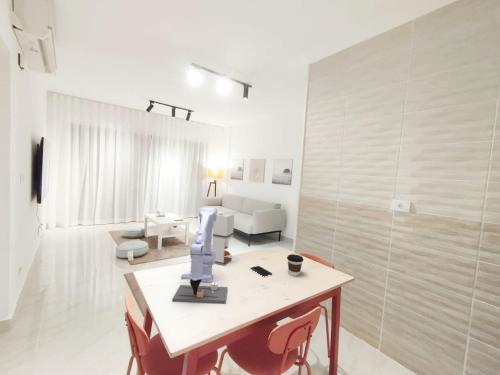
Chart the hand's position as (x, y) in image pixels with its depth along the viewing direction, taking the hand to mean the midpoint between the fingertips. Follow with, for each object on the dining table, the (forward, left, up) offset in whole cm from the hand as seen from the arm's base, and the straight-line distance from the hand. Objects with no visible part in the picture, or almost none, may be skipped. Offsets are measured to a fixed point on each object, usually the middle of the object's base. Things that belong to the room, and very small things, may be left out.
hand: (195, 293), depth 114 cm
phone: (-37, +37, -3) cm, 52 cm away
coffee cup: (-35, +59, -3) cm, 68 cm away
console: (-4, +3, -3) cm, 6 cm away
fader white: (-8, +9, -1) cm, 12 cm away
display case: (-51, +9, -3) cm, 52 cm away
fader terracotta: (0, +3, -1) cm, 3 cm away
